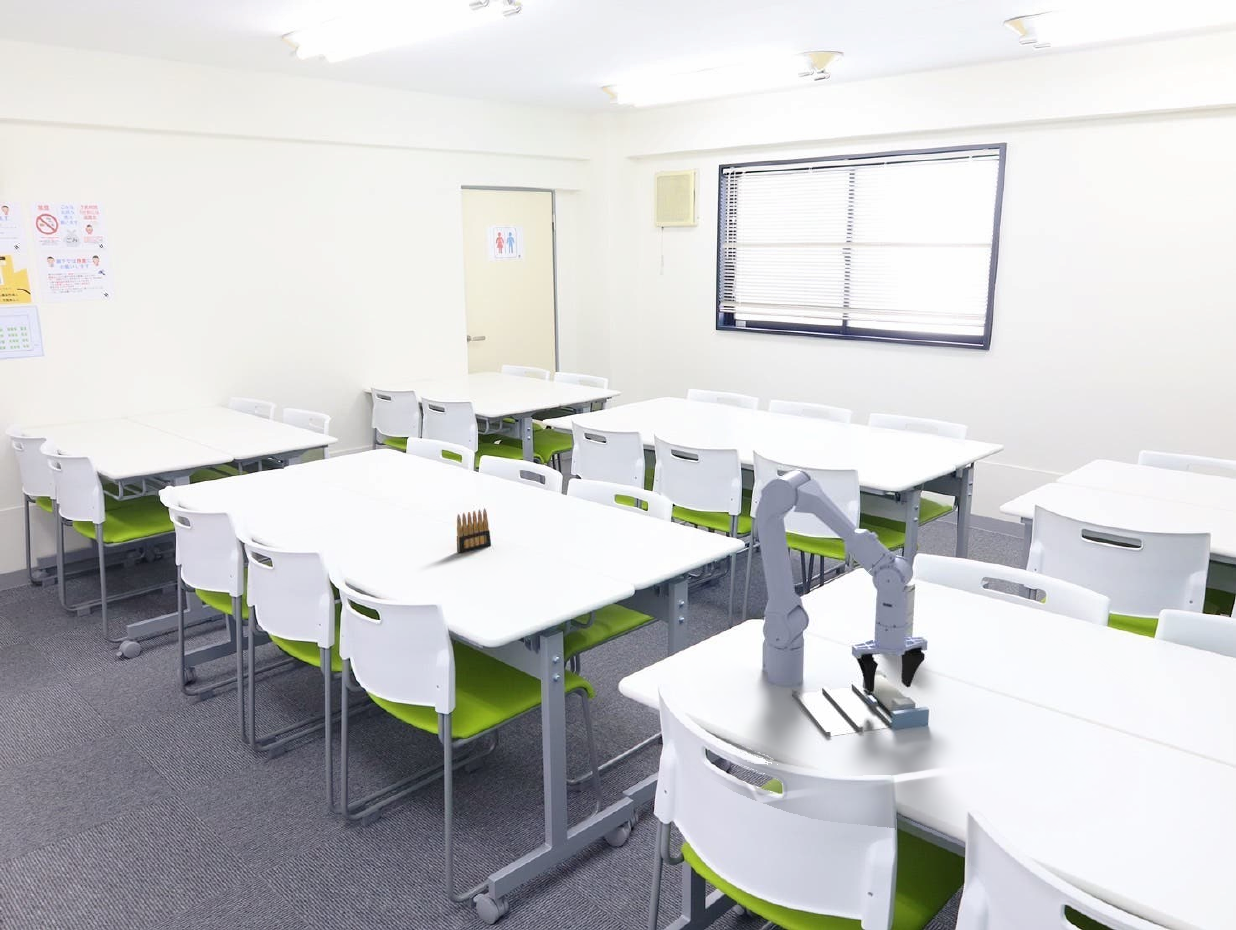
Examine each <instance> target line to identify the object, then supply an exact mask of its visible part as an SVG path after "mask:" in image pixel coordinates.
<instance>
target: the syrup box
mask: <svg viewBox="0 0 1236 930" xmlns="http://www.w3.org/2000/svg"><path fill="white" fill-rule="evenodd" d="M906 586H908V613H907V630H906V637H913V631H914V613H915V596H916V583H914V582H909V583H908V584H907V585H906Z"/></svg>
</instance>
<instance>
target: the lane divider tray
mask: <svg viewBox="0 0 1236 930" xmlns="http://www.w3.org/2000/svg"><path fill="white" fill-rule="evenodd" d="M821 688H822V689H821V691H813V692H812V691H811V692H806V693H805V692H804V693H800V692H798V690H796V689H795V690H791V694H792V695H791V696H792V697H793V698H794V699H795V701H796V702H797V703H798V704H799V705H800V706H801V708H802V709H803V710H804V711H805V713H806V714H807V715H808V717H809V718H810V719H811V720H812V721H813V722H814V724H815V725H816V726H817V727H818V728H819V729H820V731H821V732H822V733H823V735H825V737H828V738H829V737H834V736H841V735H848V734H855V733H856V734H857V733H862V732H868V731H869V732H870V731H875V730H882V729H883V730H884V729H889V728H890V729H892V730H893V731H898V730H905V729H906V730H907V729H912V728H918V727H927V726H929V720H930V719H929V715H930V708H928V707H927V706H923V707H922V706H921V707H915V708H913V709H906V710H899V711H892V716H891V712H890V711H889V710H888V709H887V708H886V707H885V706H884V705H883V704H882V703H881V702H880V701H879V700H878V699H877V698H876V697H875V696H874V695H873V694H872V693H868V692H867V691H866V690H865V689H864V688H863V685H858V684H857V682H852V683H851V686H850V687H843V688H836V689H829V688H828V687H827V686H822V687H821ZM899 691H900V690H899ZM900 692H901V693H902V694H903V695H904V696H905V697H908V696H907V695H906V694H905V693H904V692H903V691H900Z"/></svg>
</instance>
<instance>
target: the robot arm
mask: <svg viewBox="0 0 1236 930" xmlns="http://www.w3.org/2000/svg"><path fill="white" fill-rule="evenodd" d="M819 483H820V482H818V481H816V480H815V479H814V478H812V477H811V475H810V474H809V473H808V472H807V471H806V470H803V469H800V468H793V469H791V470H788V471H787V472H786V473H784V474H782V475H781V476H778V477H777V478H774V479H772V480H770V481H769V482H768V483H767V484H766V485H765V486H764V487H762V489H761V490H760V493H761V496H760V499H759V502H758V504H757V506H756V510H755V513H754V515H755V517H754V518H755V523H756V527H757V535H758V542H759V548H760V552H761V553H760V554H761V560H762V565H763V571H764V572H763V573H764V578H765V584H766V591H767V597H768V600H767V603H766V606H765V609H764V623H763V626H762V634H763V637H764V639H763V642H762V662H761V663H762V665H761V667H762V670H763V672H764V673H765V674H766V676H767V680H768V682H769V683H771V684H773V685H775V686H778V687H785V688H786V687H787V688H789V687H790V688H791V687H797V686H799V685H801V684H802V683H803V682H804V659H805V658H804V657H805V655H804V653H805V639H804V631H805V630H807V628H808V626H809V623H810V616H809V614H808V612H807V610H806V609H805V607H804V605H803V601H802V598H801V596H799V595H798V594H797V593H796V591H795V583H794V577H793V570H792V565H791V558H790V552H789V546H788V539H787V534H786V527H785V521H784V519H785V517H786V516H787V515H788V514H789V512H790V511H792V509H793V508H794V507H795V508H794V510H793V512H794V513H800V514H801V513H802V514H803V513H804V514H813V515H814V516H815V517H816V518H817V519H818V520H819V521H820V522H822V523H823V524H824V525H825V526H827V528H828V529H830V530H831V531H832V532H834V534H835V535H837V536H838V537H840V539H841V540H842V541H843V542H844V549H845V552H846V553H848V555H849V556H851V558H852V559H854V561H855V562H857V564H858V565H859V566H861V568H863V570H864V571H866V573H868V574H869V575H870V576H871V577H872V579H871V580H872V584H873V587H874V588H875V589H876V597H875V600H876V601H875V620H874V638H872V639H870V640H866V641H863V642H860V643H856V644H852V645H851V655H852V656H853V657H854V658H855V659H856V661H857V663H858V665H859V667H860V671H861V673H862V677H863V678H864V682H865V688H866V689H867V690H868V691H869V692H873V691H874V680H875V673H876V671H877V670H878V669H877V668H878V665H879V663H878V662H877V661H876V660H875V657H874V656H876V655H883V654H890V655H891V654H893V655H894V656H900V657H901V683H902V684H903V686H905V687H906V688H911V685H912V681H913V680H914V677H915V674H916V673H917V670H918V669H919V667H920V665H922V663H923V662H924V661H925V659H926V657H925V656H926V654H925V653H924V652H923V651H928V640H927V639H926V638H924V637H923V636H914V637H913V636H912V637H906V630H907V613H908V586H906V585H907V584H908V583H911V580H912V579H913V576H914V569H913V566H912V565H911V563H910V562H909V561H908V559H907V558H906V557H904V556H902V555H897V554H896V553H895V552H894V551H890V550H889V549H888V547H886V545H884V544H883V543H882V542H881V541H880V540H879V539H878V538H879V535H878V534H877V533H876V532H875V531H872V532H871V531H870V530H869V529H866V528H865V529H864V528H858V527H857V526H856V525H855V524H854V523H853V522H852V521H851V520H850V519H849V518H848V517H847V516H846V514H845V513H843V511H842V510H841V509H840V508H839V507H838V506H837V505H836V504H835V503H834V502H833V500H831V498H830V497H828V495H827V494H826V493H825V492H824V490H823V489H822V487H821V485H820V484H819ZM863 678H862V679H863Z"/></svg>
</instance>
